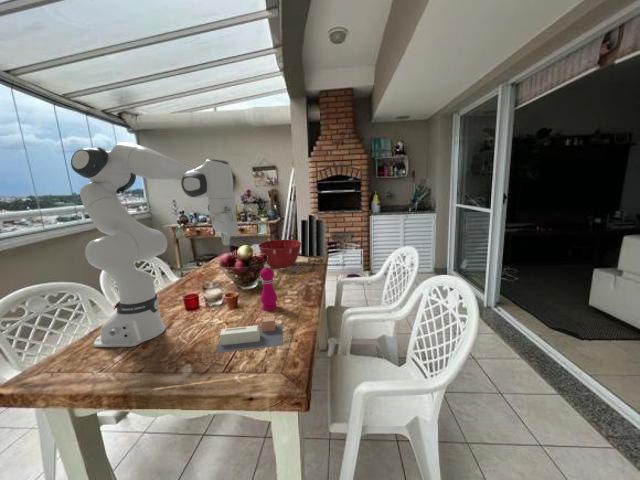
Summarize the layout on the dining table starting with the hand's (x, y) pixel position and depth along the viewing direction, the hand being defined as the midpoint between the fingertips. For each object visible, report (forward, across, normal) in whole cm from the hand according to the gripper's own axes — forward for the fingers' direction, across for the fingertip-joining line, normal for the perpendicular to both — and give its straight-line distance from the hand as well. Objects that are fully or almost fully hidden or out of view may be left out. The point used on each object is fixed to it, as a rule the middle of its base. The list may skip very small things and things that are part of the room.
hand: (226, 244), depth 103 cm
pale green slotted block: (+33, -10, +1) cm, 34 cm away
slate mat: (+33, -11, -2) cm, 35 cm away
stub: (+33, -9, -10) cm, 35 cm away
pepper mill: (+33, +9, -19) cm, 39 cm away
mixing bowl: (+33, +66, -53) cm, 91 cm away
